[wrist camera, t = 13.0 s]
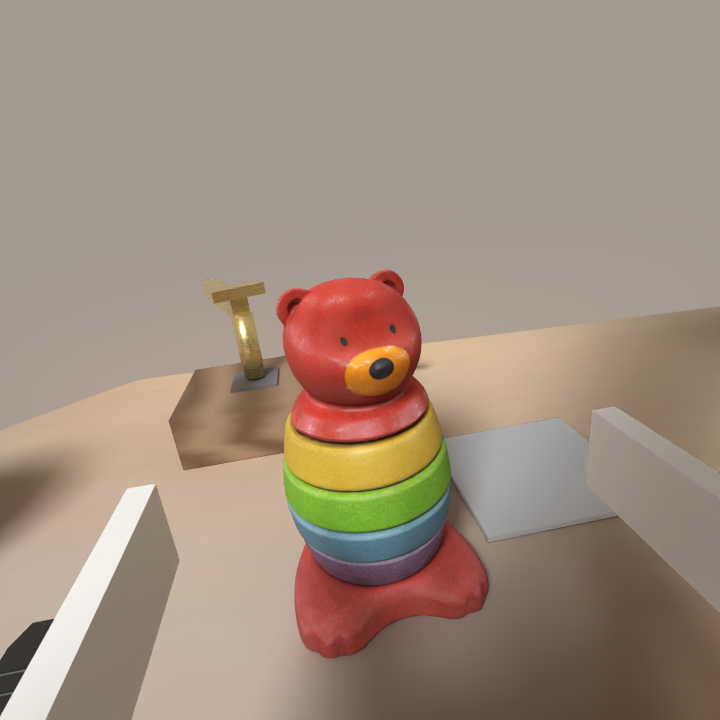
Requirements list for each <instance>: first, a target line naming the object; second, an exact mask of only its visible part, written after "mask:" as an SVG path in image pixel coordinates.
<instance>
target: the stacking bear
mask: <svg viewBox="0 0 720 720" xmlns="http://www.w3.org/2000/svg"><path fill="white" fill-rule="evenodd" d="M403 292H404V285H403V281H402V279H401V278H400V277H399V275H398V274H397V273H395V272H394V271H391V270H381V271H378V272H376V273H375V274H374V275H372V277H371V278H369V279H364V278H344V279H336V280H332V281H327V282H324V283H321V284H319V285H317V286H315V287H313V288H311V289H310V290H304V289H301V288H292V289H289V290H287V291H286V292H284V293H283V294H282V295H281V296H280V298H279V299H278V302H277V306H276V311H277V316H278V318H279V319H280V321H281V322H282V323H283V325H284V329H283V346H284V351H285V355H286V359H287V362H288V364H289V367H290V369H291V371H292V373H293V375H294V376H295V378H296V379H297V381H298V382H299V383H300V384H301V386H302V387H303V388H304V389H303V390H302V392H301V393H300V394H299V395H298V397H297V399H296V401H295V402H294V405H293V407H292V410H291V412H290V414H289V416H288V418H287V421H286V425H285V435H284V461H283V473H284V486H285V493H286V497H287V501H288V506H289V509H290V512H291V514H292V517H293V519H294V522H295V524H296V526H297V529H298V530H299V532H300V534H301V536H302V537H303V538H304V540H305V542H306V545H305V547H304V550H303V552H302V555H301V558H300V561H299V565H298V569H297V573H296V579H295V611H296V619H297V624H298V629H299V633H300V636H301V639H302V641H303V643H304V645H305V646H306V648H308V649H309V650H311V651H316V652H319V653H320V655H322V656H323V657H326V658H336V657H338V656H340V655H350V654H354V653H356V652H357V651H359V650H360V649H362V648H363V647H364V646H365V645H366V644H367V643H368V642H369V641H370V640H371V639H372V638H373V637H374V636H375V635H376V634H377V633H378V632H379V631H380V630H381V629H382V628H384V627H385V626H387V625H389V624H390V623H392V622H394V621H396V620H399V619H402V618H406V617H410V616H415V615H430V616H437V617H443V618H460V617H463V616H465V615H466V614H468V613H469V612H475V611H478V610H479V609H481V607H482V605H483V598H484V597H485V596H486V594H487V591H488V580H487V576H486V572H485V570H484V568H483V566H482V564H481V562H480V560H479V558H478V557H477V555H476V553H475V552H474V550H473V549H472V548H471V546H470V545H469V544H468V542H467V541H466V540H465V539H464V538H463V536H462V535H461V534H460V533H459V532H458V531H457V530H456V529H455V528H454V527H452V526H451V525H450V524H449V523H448V522H447V521H446V517H447V512H448V507H449V500H450V490H451V466H450V460H449V455H448V450H447V446H446V443H445V439H444V437H443V435H442V433H441V430H440V426H439V422H438V419H437V416H436V413H435V411H434V408H433V406H432V404H431V402H430V400H429V399H428V395H427V393H426V391H425V389H424V387H423V386H422V385H421V384H420V382H419V381H418V380H417V379H415V378H414V377H413V376H412V375H413V374H414V372H415V369H416V367H417V364H418V361H419V358H420V353H421V332H420V327H419V324H418V320H417V318H416V316H415V314H414V312H413V310H412V309H411V307H410V306H409V304H408V303H407V301H406V300H405V299H404V298H403V297H402V295H403Z"/></svg>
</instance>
